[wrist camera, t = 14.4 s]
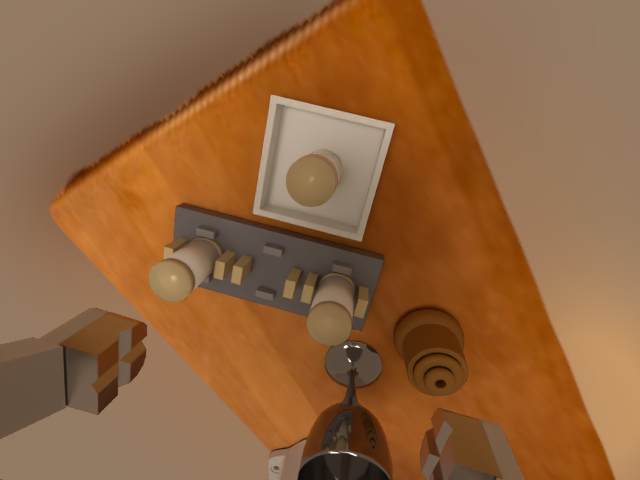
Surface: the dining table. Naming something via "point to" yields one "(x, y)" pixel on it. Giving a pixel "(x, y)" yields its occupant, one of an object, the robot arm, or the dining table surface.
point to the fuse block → (275, 262)
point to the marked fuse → (314, 178)
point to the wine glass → (348, 424)
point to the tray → (311, 135)
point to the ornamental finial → (432, 351)
